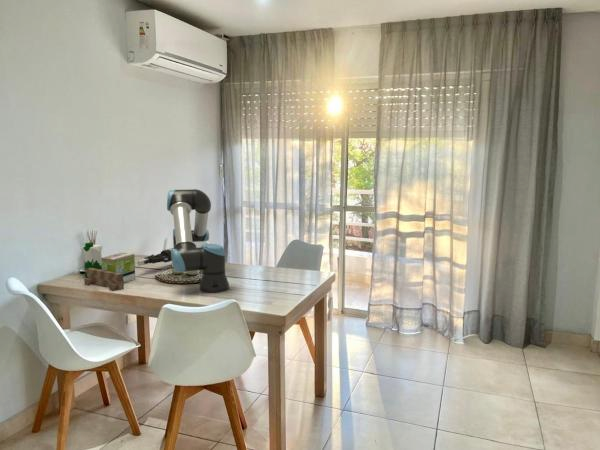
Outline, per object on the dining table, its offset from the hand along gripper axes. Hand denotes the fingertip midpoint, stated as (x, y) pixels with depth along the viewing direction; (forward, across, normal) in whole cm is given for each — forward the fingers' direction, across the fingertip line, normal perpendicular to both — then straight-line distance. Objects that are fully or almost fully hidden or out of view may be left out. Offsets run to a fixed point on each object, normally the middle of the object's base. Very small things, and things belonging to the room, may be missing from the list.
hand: (138, 263), depth 271 cm
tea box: (+14, 0, -8) cm, 16 cm away
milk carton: (+14, +21, -8) cm, 26 cm away
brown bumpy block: (+25, 0, -7) cm, 26 cm away
